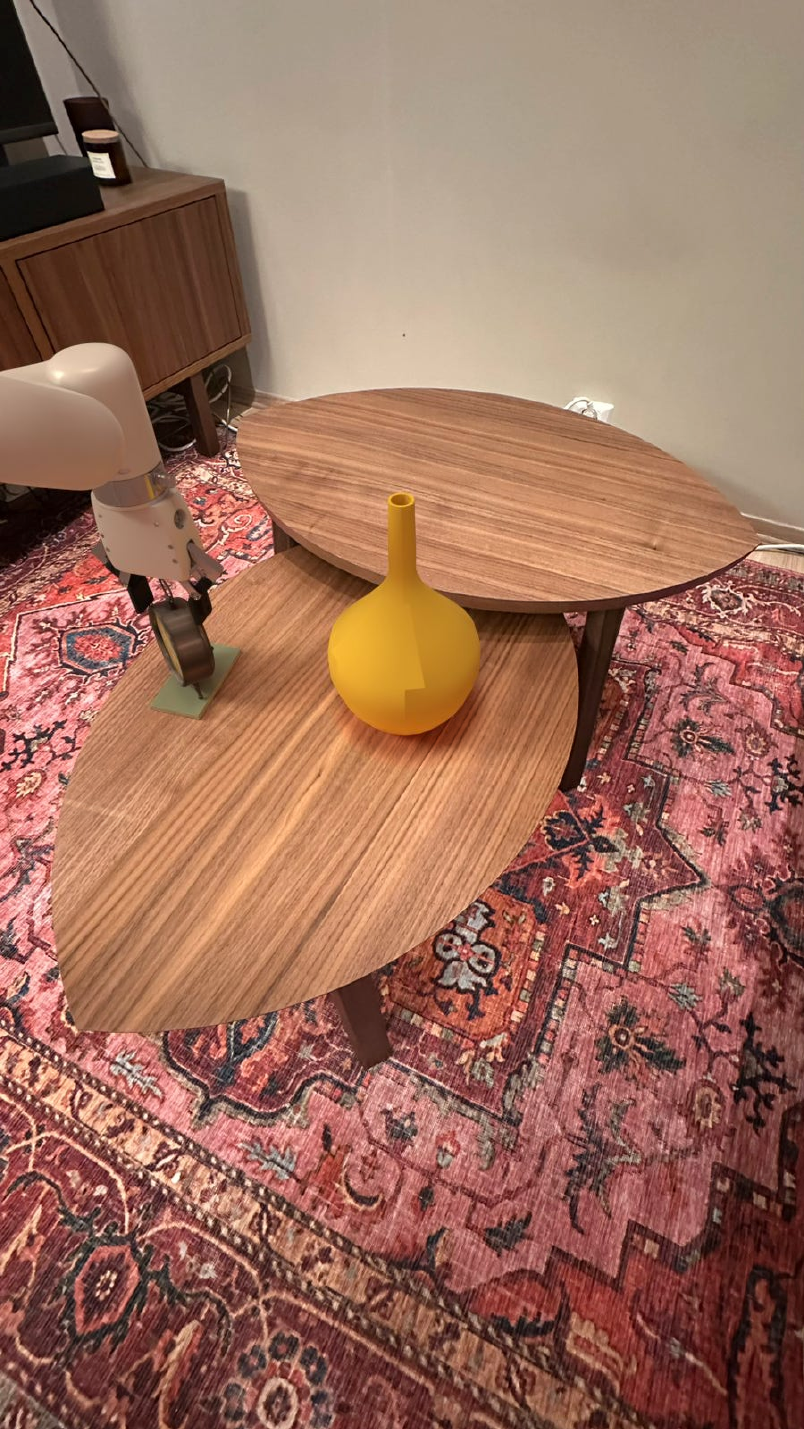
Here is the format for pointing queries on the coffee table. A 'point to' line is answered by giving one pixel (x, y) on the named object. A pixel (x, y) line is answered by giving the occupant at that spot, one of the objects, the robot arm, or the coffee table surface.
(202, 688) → the green rectangular slab
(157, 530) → the robot arm
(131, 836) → the coffee table surface
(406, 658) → the vase
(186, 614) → the alarm clock
